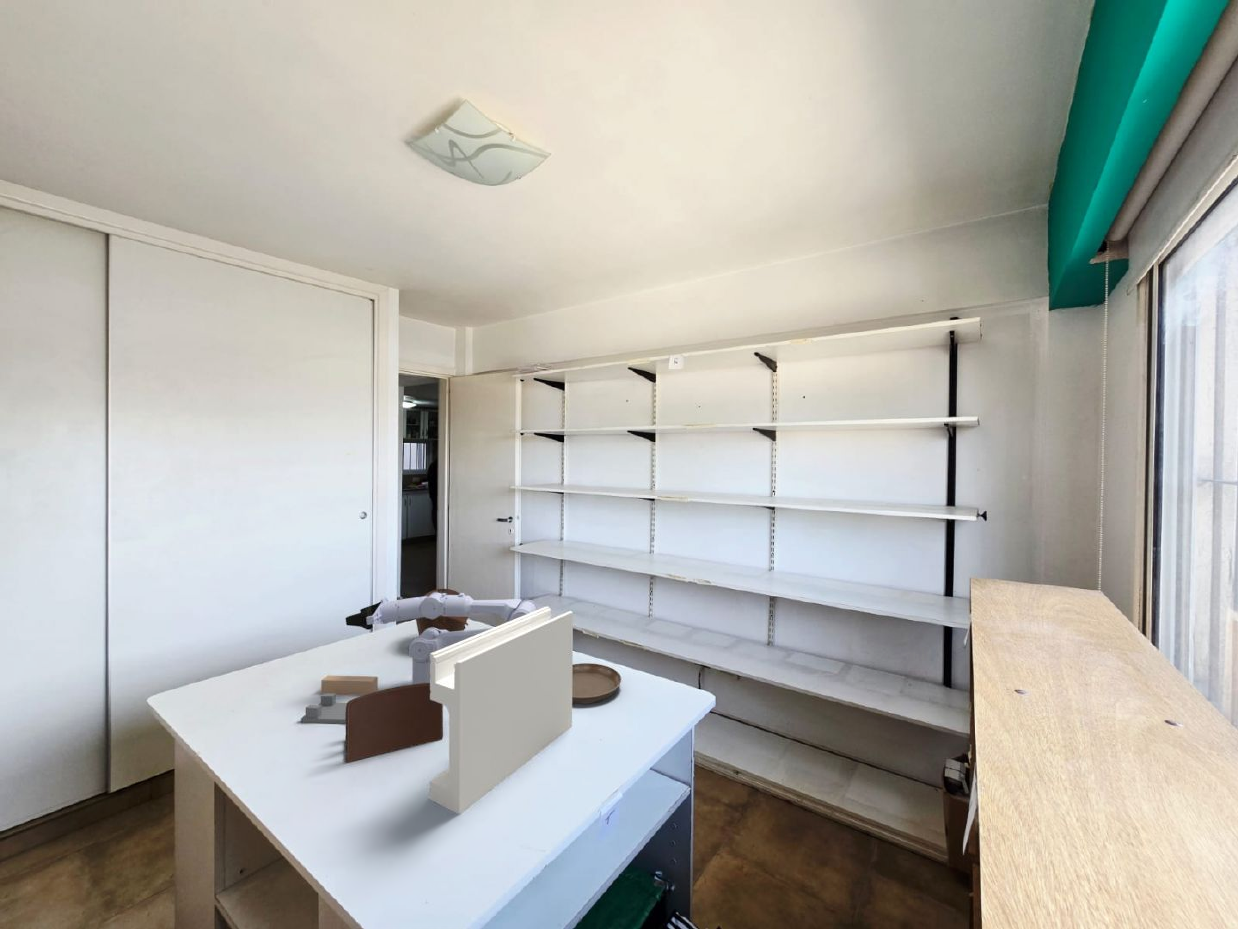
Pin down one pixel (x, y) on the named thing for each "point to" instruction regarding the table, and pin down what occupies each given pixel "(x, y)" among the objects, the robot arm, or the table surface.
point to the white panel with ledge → (501, 701)
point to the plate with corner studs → (326, 711)
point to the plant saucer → (593, 682)
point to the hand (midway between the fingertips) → (354, 617)
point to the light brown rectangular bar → (349, 685)
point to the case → (442, 618)
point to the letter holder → (392, 721)
